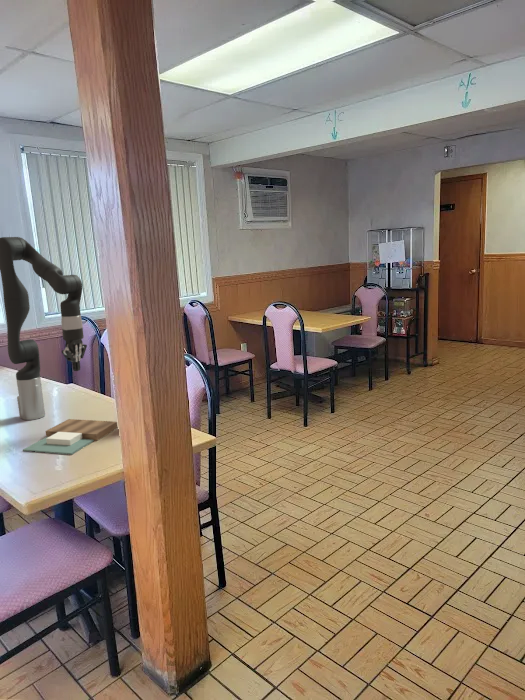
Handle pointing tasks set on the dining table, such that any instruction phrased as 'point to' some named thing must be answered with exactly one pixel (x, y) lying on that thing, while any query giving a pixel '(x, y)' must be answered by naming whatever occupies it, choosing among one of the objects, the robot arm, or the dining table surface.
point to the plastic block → (64, 438)
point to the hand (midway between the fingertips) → (76, 370)
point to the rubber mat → (58, 447)
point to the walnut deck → (84, 428)
